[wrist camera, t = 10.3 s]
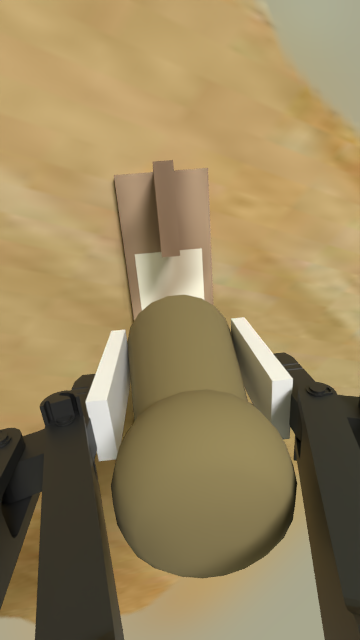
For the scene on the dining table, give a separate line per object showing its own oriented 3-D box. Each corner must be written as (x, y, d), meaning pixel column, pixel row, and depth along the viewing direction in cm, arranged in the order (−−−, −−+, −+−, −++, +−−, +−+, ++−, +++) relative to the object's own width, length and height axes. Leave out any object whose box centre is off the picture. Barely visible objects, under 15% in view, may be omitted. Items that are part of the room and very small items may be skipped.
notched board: (142, 373, 37) (139, 413, 30) (114, 176, 29) (101, 165, 22) (214, 365, 37) (229, 403, 30) (206, 168, 30) (223, 156, 22)
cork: (199, 273, 16) (274, 389, 6) (248, 358, 18) (369, 555, 8) (106, 330, 17) (25, 521, 7) (163, 405, 19) (171, 642, 9)
